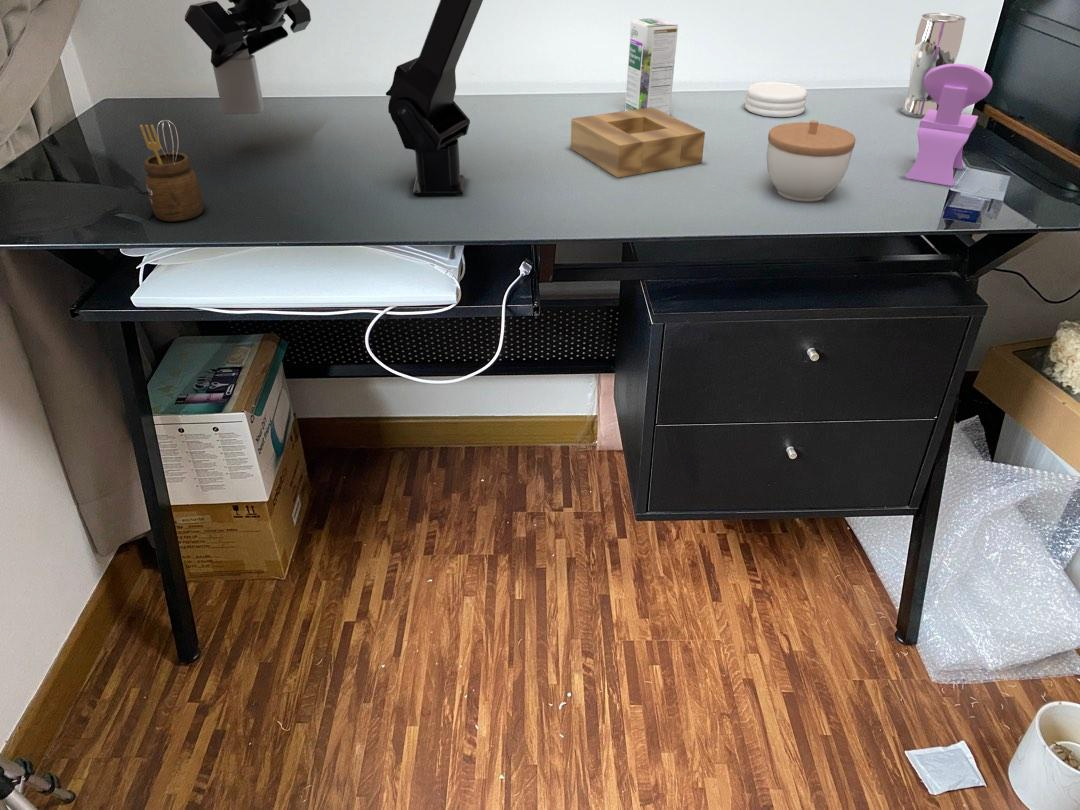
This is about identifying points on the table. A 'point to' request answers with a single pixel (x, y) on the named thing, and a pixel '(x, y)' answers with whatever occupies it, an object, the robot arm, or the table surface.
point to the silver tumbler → (931, 57)
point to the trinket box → (808, 159)
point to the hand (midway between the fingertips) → (225, 61)
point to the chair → (947, 121)
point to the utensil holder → (171, 182)
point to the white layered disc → (775, 99)
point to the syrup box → (651, 64)
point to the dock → (636, 141)
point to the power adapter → (239, 85)
